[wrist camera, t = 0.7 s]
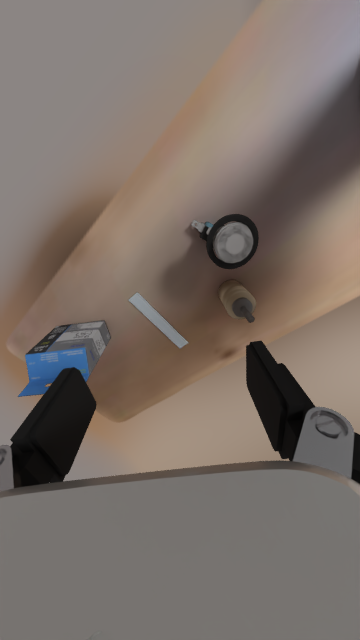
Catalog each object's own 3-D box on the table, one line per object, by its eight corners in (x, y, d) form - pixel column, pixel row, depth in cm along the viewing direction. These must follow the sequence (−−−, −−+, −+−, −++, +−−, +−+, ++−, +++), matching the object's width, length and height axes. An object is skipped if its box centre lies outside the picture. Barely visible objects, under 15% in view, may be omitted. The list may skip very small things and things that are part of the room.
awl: (233, 274, 31) (257, 297, 22) (247, 292, 33) (274, 320, 24) (213, 290, 32) (227, 318, 24) (227, 307, 34) (245, 339, 25)
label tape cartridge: (105, 319, 34) (72, 366, 23) (111, 337, 36) (84, 390, 25) (55, 325, 35) (0, 375, 24) (64, 343, 37) (17, 397, 26)
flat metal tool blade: (137, 292, 32) (136, 292, 32) (188, 342, 37) (188, 342, 37) (128, 299, 33) (128, 300, 33) (180, 348, 37) (180, 348, 37)
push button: (183, 239, 29) (187, 250, 20) (202, 201, 27) (215, 194, 18) (222, 261, 30) (241, 279, 21) (242, 227, 28) (273, 231, 19)
